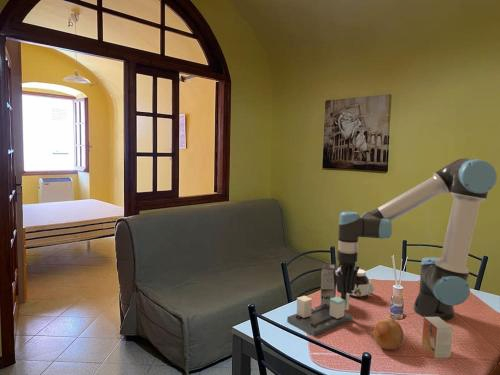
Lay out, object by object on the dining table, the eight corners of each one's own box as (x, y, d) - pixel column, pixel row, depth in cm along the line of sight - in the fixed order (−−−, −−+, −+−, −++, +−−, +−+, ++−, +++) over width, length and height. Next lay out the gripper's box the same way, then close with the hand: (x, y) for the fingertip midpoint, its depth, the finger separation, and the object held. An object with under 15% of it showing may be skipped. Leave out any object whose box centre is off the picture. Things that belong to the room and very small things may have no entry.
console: (352, 320, 148) (352, 314, 148) (313, 336, 135) (314, 329, 135) (325, 308, 159) (325, 302, 159) (287, 321, 146) (287, 315, 146)
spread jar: (343, 295, 173) (344, 271, 172) (351, 288, 183) (352, 264, 182) (370, 301, 167) (371, 276, 166) (376, 293, 177) (377, 269, 175)
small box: (421, 345, 130) (423, 316, 129) (436, 345, 130) (438, 316, 129) (434, 358, 122) (436, 327, 121) (450, 358, 122) (453, 327, 121)
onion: (378, 337, 135) (379, 310, 134) (407, 346, 129) (408, 319, 128) (367, 348, 127) (369, 319, 126) (397, 358, 121) (399, 329, 120)
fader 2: (344, 316, 146) (345, 299, 146) (337, 319, 144) (338, 302, 143) (336, 312, 150) (336, 296, 149) (329, 315, 147) (329, 298, 146)
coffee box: (335, 306, 161) (337, 270, 159) (320, 305, 162) (321, 268, 160) (335, 298, 170) (336, 263, 168) (320, 297, 171) (321, 262, 169)
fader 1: (311, 315, 147) (312, 299, 146) (304, 318, 144) (304, 301, 143) (303, 311, 150) (304, 295, 149) (296, 314, 147) (296, 297, 147)
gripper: (350, 246, 154) (347, 301, 156) (329, 251, 146) (326, 309, 149) (365, 250, 148) (362, 308, 150) (344, 255, 140) (341, 316, 143)
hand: (344, 308), depth 150 cm, fingers closed
